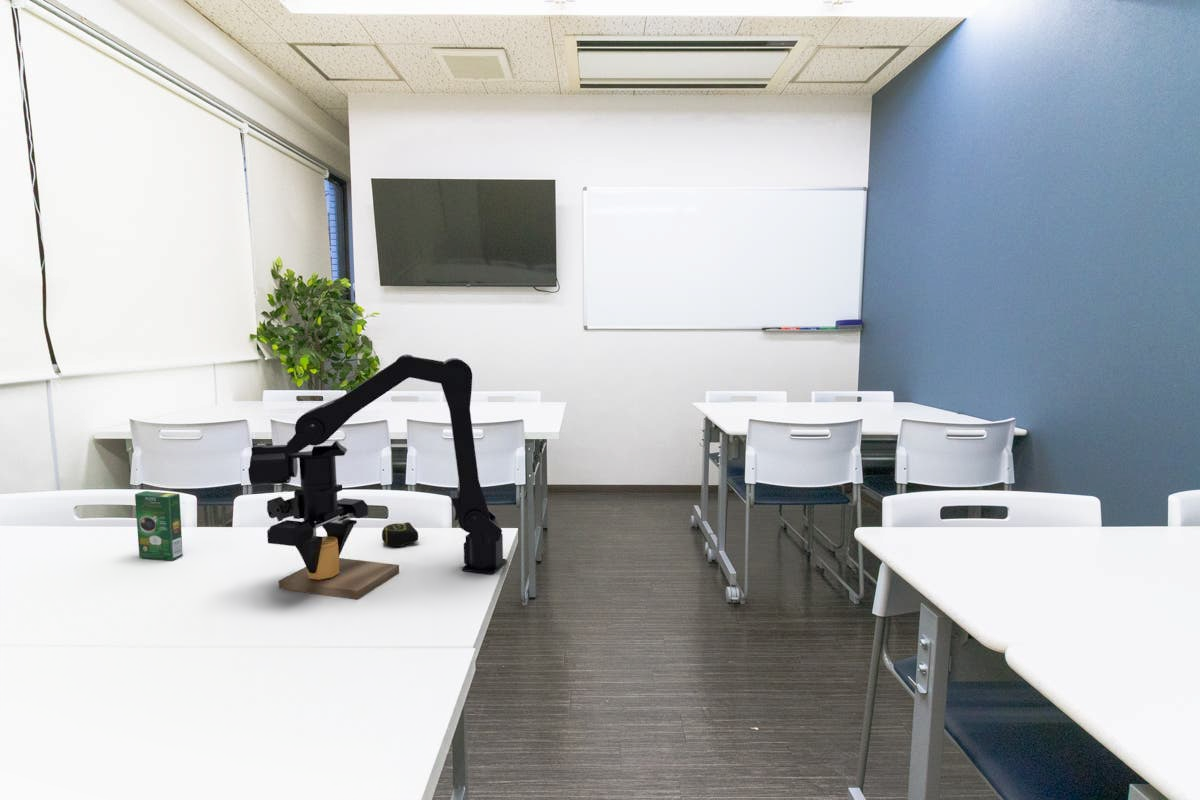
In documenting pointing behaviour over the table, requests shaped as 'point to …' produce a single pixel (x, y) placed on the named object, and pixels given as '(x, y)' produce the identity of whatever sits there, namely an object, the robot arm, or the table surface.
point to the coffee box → (159, 525)
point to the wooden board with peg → (343, 579)
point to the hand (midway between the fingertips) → (323, 567)
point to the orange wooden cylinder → (327, 559)
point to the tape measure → (399, 534)
